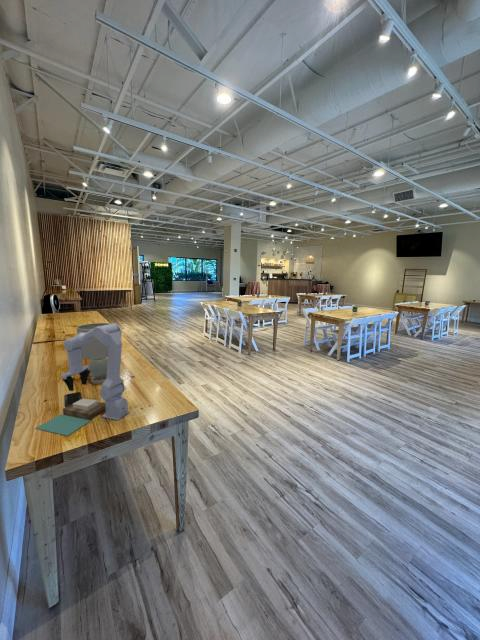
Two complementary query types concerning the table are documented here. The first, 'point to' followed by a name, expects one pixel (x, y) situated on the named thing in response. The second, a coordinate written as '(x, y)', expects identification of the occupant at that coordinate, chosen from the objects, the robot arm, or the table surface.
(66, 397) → the phone
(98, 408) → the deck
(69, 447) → the table surface
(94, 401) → the white rectangular block
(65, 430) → the mat
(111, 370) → the robot arm
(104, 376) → the lamp
